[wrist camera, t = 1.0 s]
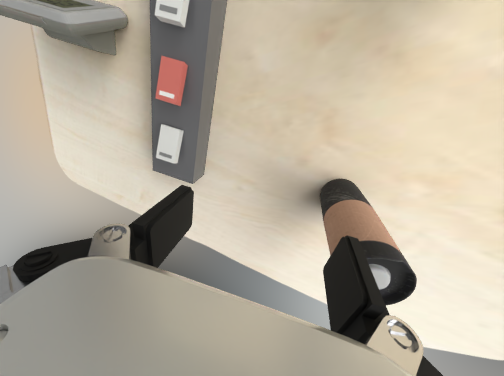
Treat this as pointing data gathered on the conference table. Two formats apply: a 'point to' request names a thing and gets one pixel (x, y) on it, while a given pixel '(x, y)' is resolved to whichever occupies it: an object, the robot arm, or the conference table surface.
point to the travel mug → (366, 238)
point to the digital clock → (71, 20)
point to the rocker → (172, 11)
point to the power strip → (187, 83)
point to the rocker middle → (171, 80)
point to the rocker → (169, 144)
